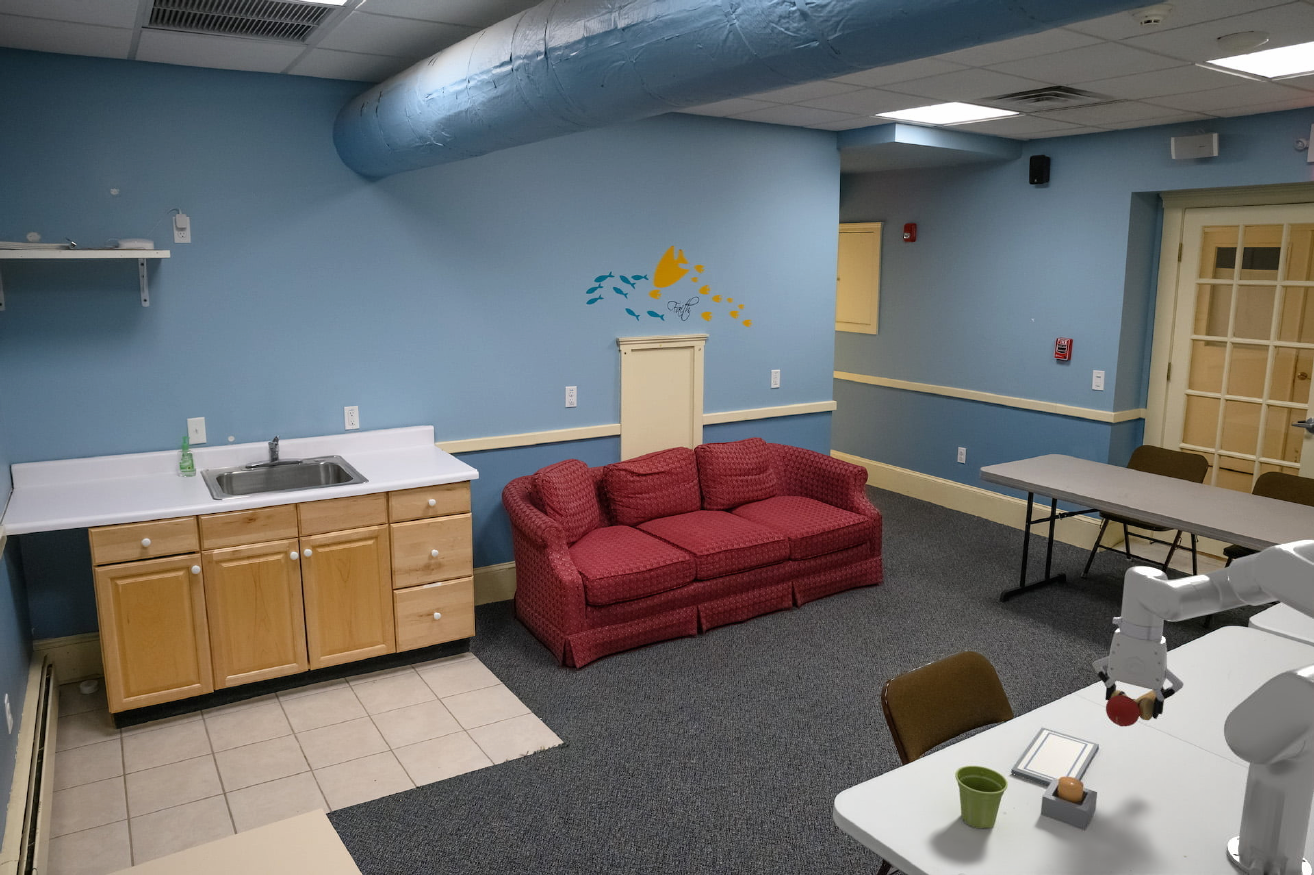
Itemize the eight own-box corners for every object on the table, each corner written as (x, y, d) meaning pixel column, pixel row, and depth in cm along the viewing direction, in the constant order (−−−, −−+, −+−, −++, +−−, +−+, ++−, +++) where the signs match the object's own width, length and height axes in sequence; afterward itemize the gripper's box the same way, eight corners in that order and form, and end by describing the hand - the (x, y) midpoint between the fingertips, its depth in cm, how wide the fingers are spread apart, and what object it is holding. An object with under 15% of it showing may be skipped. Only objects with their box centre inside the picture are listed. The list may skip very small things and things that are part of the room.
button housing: (1085, 830, 169) (1087, 811, 169) (1040, 814, 174) (1042, 796, 174) (1095, 810, 176) (1097, 792, 175) (1052, 795, 180) (1054, 777, 180)
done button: (1078, 806, 171) (1080, 792, 171) (1054, 798, 174) (1055, 784, 173) (1084, 795, 175) (1086, 781, 174) (1060, 787, 177) (1062, 774, 177)
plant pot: (963, 799, 179) (966, 759, 178) (1011, 817, 173) (1014, 776, 172) (944, 821, 172) (947, 780, 171) (994, 841, 166) (997, 799, 165)
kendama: (1132, 701, 193) (1091, 715, 181) (1142, 675, 191) (1101, 687, 180) (1168, 721, 187) (1128, 736, 176) (1179, 694, 185) (1139, 708, 174)
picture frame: (1072, 794, 181) (1072, 789, 181) (1011, 773, 188) (1011, 768, 188) (1098, 748, 198) (1099, 743, 198) (1041, 731, 205) (1042, 726, 205)
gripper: (1089, 624, 183) (1082, 704, 186) (1187, 645, 172) (1178, 730, 175) (1098, 613, 188) (1091, 691, 192) (1194, 633, 178) (1185, 715, 181)
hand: (1133, 709), depth 183 cm, fingers closed on kendama, 7 cm apart
